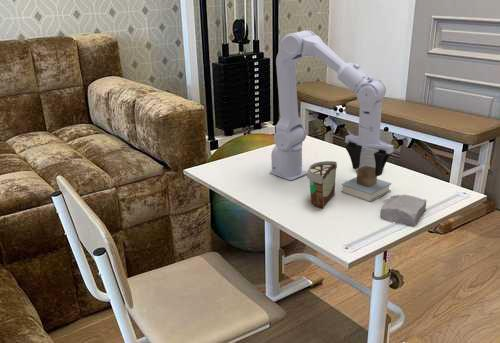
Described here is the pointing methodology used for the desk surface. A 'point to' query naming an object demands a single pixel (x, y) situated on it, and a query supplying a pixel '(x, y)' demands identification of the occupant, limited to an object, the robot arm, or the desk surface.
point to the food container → (322, 182)
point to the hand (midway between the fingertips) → (367, 171)
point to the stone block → (403, 209)
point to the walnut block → (366, 176)
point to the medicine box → (367, 157)
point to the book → (366, 189)
